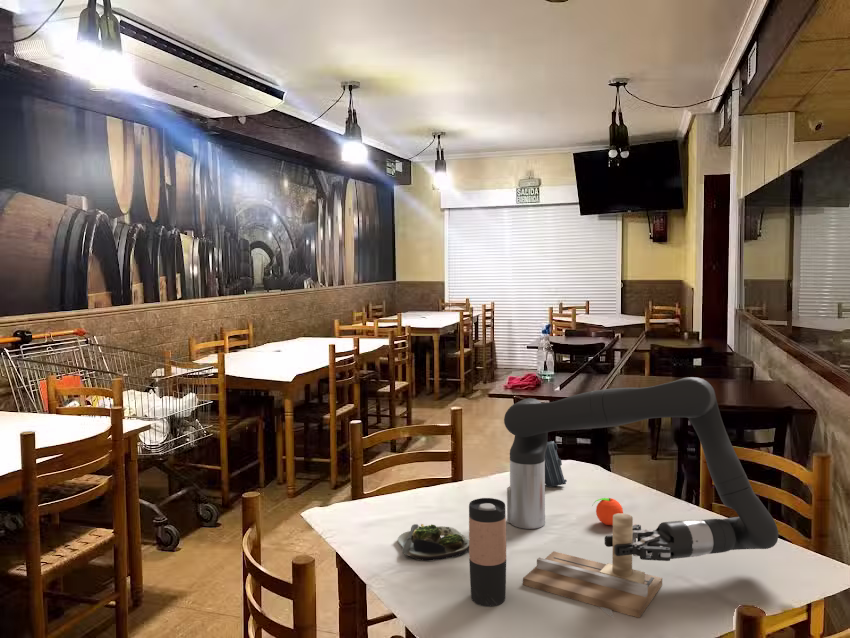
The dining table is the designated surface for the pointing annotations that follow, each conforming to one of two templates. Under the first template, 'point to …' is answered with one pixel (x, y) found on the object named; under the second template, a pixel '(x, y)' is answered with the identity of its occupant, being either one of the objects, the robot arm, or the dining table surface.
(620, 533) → the post
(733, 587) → the dining table surface
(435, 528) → the salad plate
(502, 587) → the travel mug
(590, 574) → the board
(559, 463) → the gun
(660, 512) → the dining table surface
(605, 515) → the clementine
